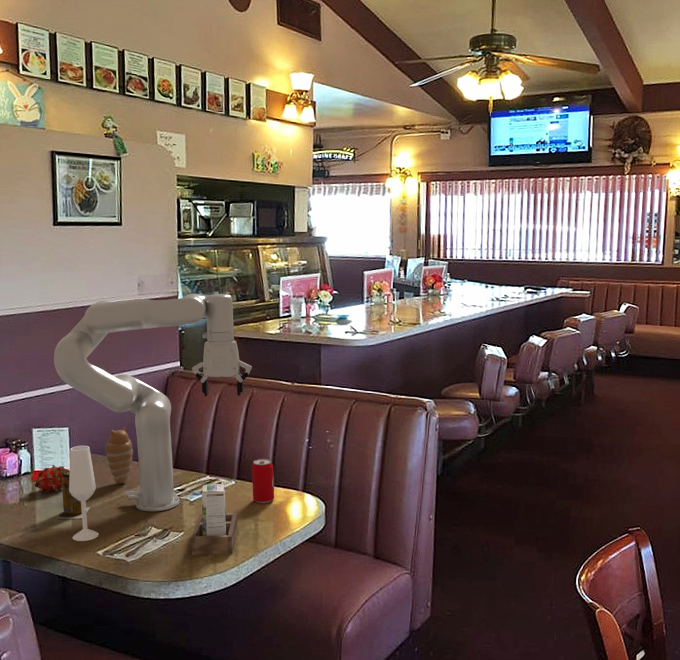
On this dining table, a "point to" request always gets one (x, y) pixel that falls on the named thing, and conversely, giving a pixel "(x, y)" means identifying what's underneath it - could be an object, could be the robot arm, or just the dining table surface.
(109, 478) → the dining table surface
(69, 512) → the condiment
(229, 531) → the caddy
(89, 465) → the champagne flute
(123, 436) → the cat ice cream
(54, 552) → the dining table surface
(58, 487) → the dragon fruit
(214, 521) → the syrup box
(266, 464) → the beverage can
